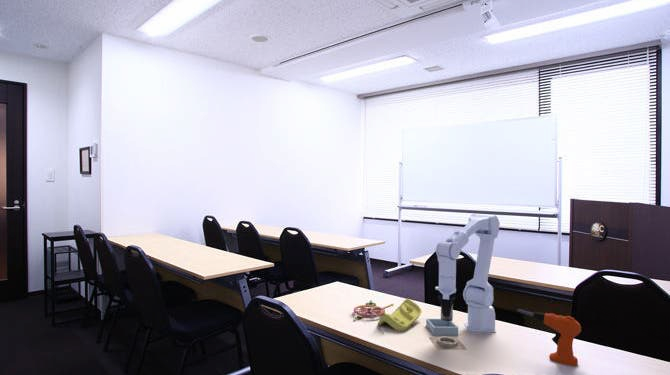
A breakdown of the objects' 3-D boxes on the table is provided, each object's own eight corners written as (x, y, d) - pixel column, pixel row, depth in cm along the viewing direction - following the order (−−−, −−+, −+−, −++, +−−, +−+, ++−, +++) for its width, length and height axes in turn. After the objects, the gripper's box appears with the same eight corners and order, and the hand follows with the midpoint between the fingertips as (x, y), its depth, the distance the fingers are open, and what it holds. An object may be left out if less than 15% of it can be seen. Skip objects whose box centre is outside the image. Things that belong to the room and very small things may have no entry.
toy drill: (513, 342, 128) (519, 299, 127) (577, 365, 118) (585, 318, 117) (510, 346, 125) (517, 303, 124) (576, 370, 114) (585, 323, 113)
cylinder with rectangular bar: (442, 316, 135) (442, 297, 135) (453, 318, 133) (454, 299, 133) (439, 319, 131) (439, 299, 131) (450, 322, 129) (451, 301, 129)
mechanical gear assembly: (339, 317, 154) (369, 328, 145) (339, 307, 154) (370, 317, 145) (378, 302, 178) (407, 310, 168) (379, 293, 178) (407, 300, 168)
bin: (449, 326, 146) (449, 318, 146) (458, 336, 137) (458, 327, 137) (426, 326, 146) (426, 318, 146) (433, 335, 136) (433, 327, 136)
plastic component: (404, 328, 138) (382, 311, 143) (396, 343, 140) (375, 326, 145) (425, 310, 154) (405, 296, 159) (418, 324, 156) (398, 309, 161)
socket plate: (456, 338, 134) (456, 334, 134) (467, 350, 124) (467, 346, 124) (428, 338, 134) (428, 334, 134) (437, 350, 124) (437, 346, 124)
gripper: (437, 270, 140) (436, 306, 140) (433, 279, 127) (433, 319, 127) (456, 272, 138) (456, 309, 138) (455, 281, 124) (455, 322, 124)
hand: (446, 314), depth 132 cm, fingers closed on cylinder with rectangular bar, 4 cm apart
